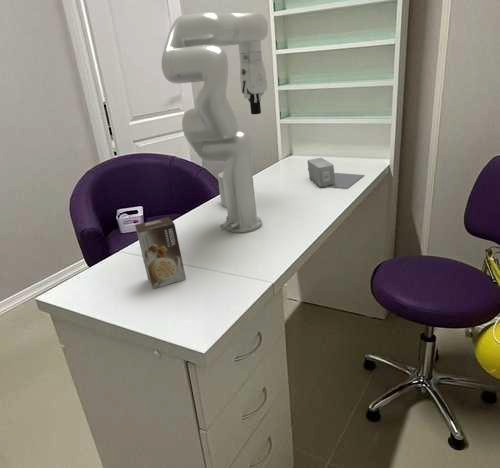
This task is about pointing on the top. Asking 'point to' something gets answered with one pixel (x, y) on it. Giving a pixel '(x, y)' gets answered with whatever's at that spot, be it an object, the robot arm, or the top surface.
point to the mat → (344, 180)
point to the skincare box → (321, 172)
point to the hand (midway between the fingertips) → (256, 113)
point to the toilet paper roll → (221, 189)
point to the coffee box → (160, 252)
